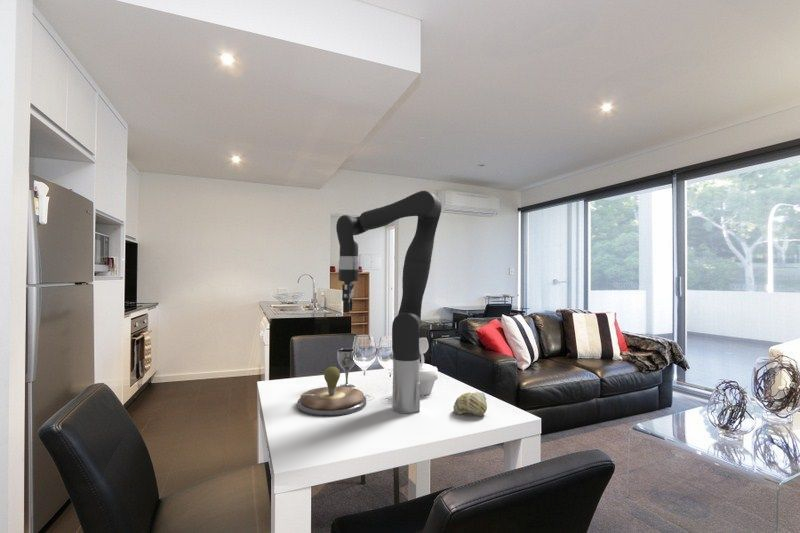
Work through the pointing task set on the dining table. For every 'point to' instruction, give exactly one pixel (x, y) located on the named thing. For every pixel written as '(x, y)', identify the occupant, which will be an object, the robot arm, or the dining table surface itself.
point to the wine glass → (346, 363)
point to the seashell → (471, 404)
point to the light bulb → (332, 378)
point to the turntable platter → (331, 398)
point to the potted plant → (426, 370)
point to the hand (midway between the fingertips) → (348, 311)
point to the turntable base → (331, 412)
